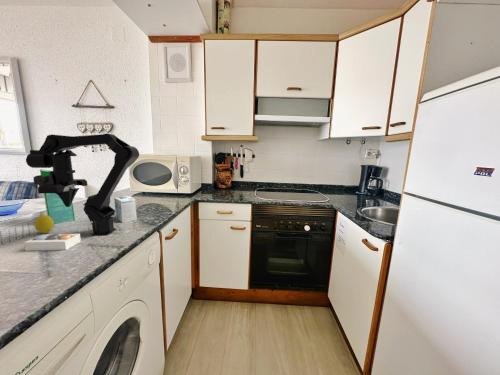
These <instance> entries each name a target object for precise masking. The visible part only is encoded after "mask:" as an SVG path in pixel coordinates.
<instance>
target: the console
mask: <svg viewBox="0 0 500 375" xmlns="http://www.w3.org/2000/svg"><path fill="white" fill-rule="evenodd" d="M46 234H47V236H49V235H52V234H53V233H49V234H48V233H46ZM58 234H59V238H57V239H55V240H48V238H46V239H43V240H35V237H34V238H31V239H28V240H26V241H24V242H23V244H24V248H25V252H27V251H28V252H29V251H65V250H66V251H67V250H69V249H70V248H72V247H73V246H75V245H77V244H79V243H81V242H82V241H81V240H82V239H81V234H80V233H70V234H71V238H69V239H67V240H60V236H61V235H64V234H65V233H58Z"/></svg>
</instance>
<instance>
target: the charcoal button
mask: <svg viewBox="0 0 500 375" xmlns="http://www.w3.org/2000/svg"><path fill="white" fill-rule="evenodd" d="M51 234H52V235H49V236H47V238H48V240H55V239H57V238H59V234H60V233H51Z"/></svg>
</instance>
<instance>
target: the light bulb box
mask: <svg viewBox="0 0 500 375" xmlns="http://www.w3.org/2000/svg"><path fill="white" fill-rule="evenodd" d="M113 199H114V200H113V201H114V210H115V218H116V219H117V220H118V221H120V223H122V224H123V223H128V222H132V221H137V219H138V218H137V206H136V205H137V204H136V198H135V197H131V196H130V195H124V196H118V197H114V198H113Z"/></svg>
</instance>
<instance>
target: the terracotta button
mask: <svg viewBox="0 0 500 375" xmlns="http://www.w3.org/2000/svg"><path fill="white" fill-rule="evenodd" d="M63 234H64V235H61V236H60V240H67V239H69V238H71V234H72V233H63Z"/></svg>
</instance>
